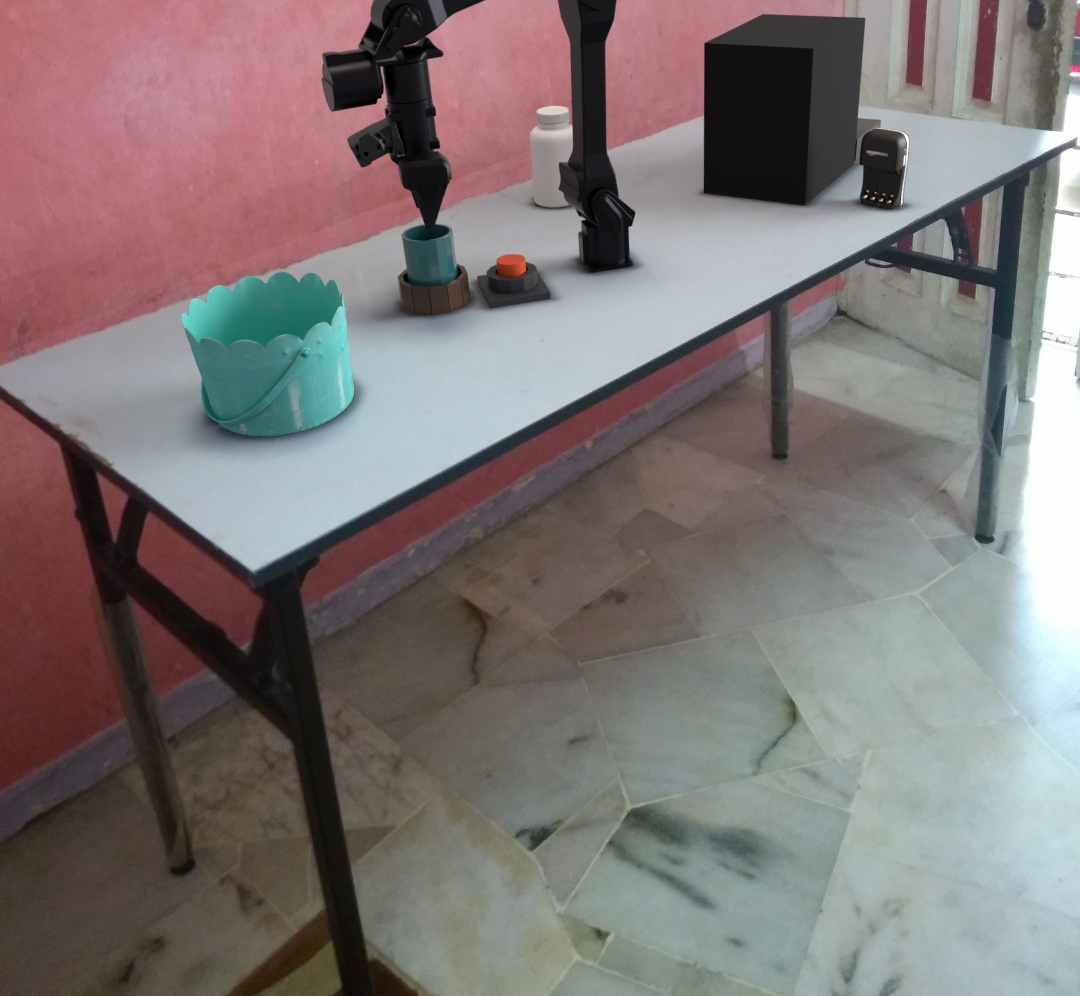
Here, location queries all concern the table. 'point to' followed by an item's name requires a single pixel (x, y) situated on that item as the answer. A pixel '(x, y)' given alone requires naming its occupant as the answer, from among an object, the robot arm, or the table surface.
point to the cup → (429, 255)
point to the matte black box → (783, 106)
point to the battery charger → (884, 167)
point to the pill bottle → (550, 154)
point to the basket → (272, 354)
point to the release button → (511, 265)
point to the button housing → (513, 287)
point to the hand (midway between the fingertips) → (425, 217)
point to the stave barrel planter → (435, 295)
